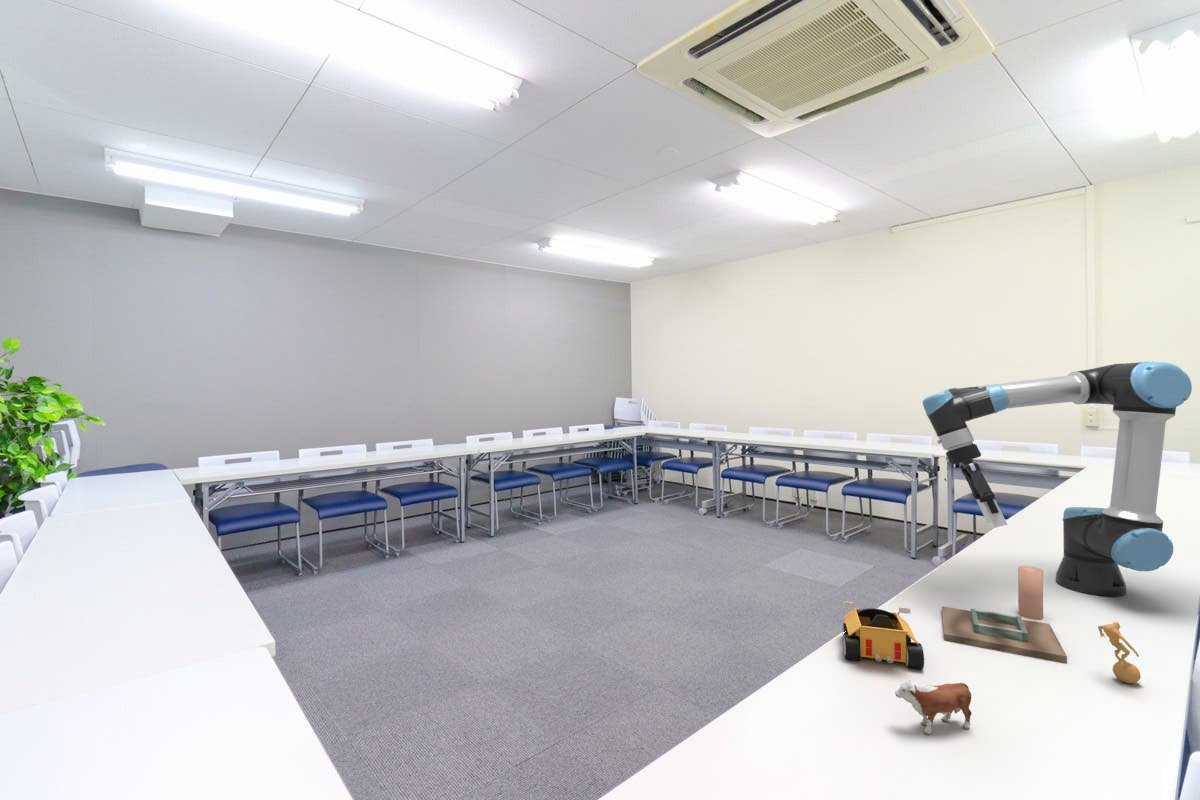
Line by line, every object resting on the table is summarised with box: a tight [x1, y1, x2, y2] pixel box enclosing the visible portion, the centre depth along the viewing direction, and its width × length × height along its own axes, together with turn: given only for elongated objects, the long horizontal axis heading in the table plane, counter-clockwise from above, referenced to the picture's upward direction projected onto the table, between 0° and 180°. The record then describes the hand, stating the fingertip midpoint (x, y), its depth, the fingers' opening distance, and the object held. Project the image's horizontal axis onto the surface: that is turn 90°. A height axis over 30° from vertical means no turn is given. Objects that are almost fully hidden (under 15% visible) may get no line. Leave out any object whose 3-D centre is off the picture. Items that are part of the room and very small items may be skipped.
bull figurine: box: [894, 679, 972, 736], centre depth 94 cm, size 4×13×8 cm, turn 95°
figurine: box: [1097, 621, 1142, 684], centre depth 107 cm, size 8×6×12 cm
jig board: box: [941, 606, 1068, 664], centre depth 127 cm, size 22×18×4 cm
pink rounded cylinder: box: [1017, 565, 1044, 621], centre depth 138 cm, size 5×5×12 cm
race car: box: [842, 601, 925, 670], centre depth 120 cm, size 15×15×11 cm
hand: (996, 523), depth 140 cm, fingers open, 13 cm apart
